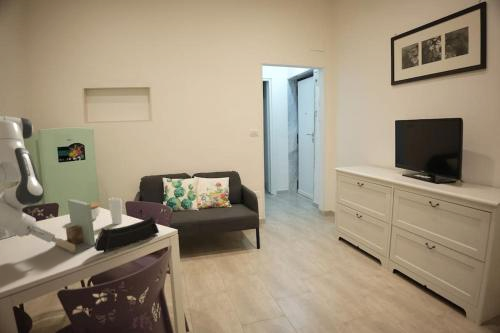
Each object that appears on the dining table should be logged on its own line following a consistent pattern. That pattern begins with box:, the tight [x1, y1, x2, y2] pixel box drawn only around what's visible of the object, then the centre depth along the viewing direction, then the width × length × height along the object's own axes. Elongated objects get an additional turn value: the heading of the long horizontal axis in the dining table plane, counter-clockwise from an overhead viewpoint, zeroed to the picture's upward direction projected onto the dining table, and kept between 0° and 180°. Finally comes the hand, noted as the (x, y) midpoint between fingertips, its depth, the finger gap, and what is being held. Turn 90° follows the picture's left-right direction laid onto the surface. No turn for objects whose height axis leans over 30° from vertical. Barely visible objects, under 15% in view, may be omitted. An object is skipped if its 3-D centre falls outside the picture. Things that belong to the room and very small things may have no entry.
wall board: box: [54, 198, 96, 255], centre depth 135 cm, size 10×18×21 cm, turn 57°
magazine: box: [93, 215, 160, 253], centre depth 137 cm, size 17×3×30 cm
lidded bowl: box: [86, 201, 101, 221], centre depth 174 cm, size 13×13×11 cm
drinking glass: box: [108, 196, 123, 225], centre depth 166 cm, size 7×7×15 cm
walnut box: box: [65, 225, 84, 245], centre depth 136 cm, size 6×5×8 cm
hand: (52, 239), depth 128 cm, fingers open, 8 cm apart
